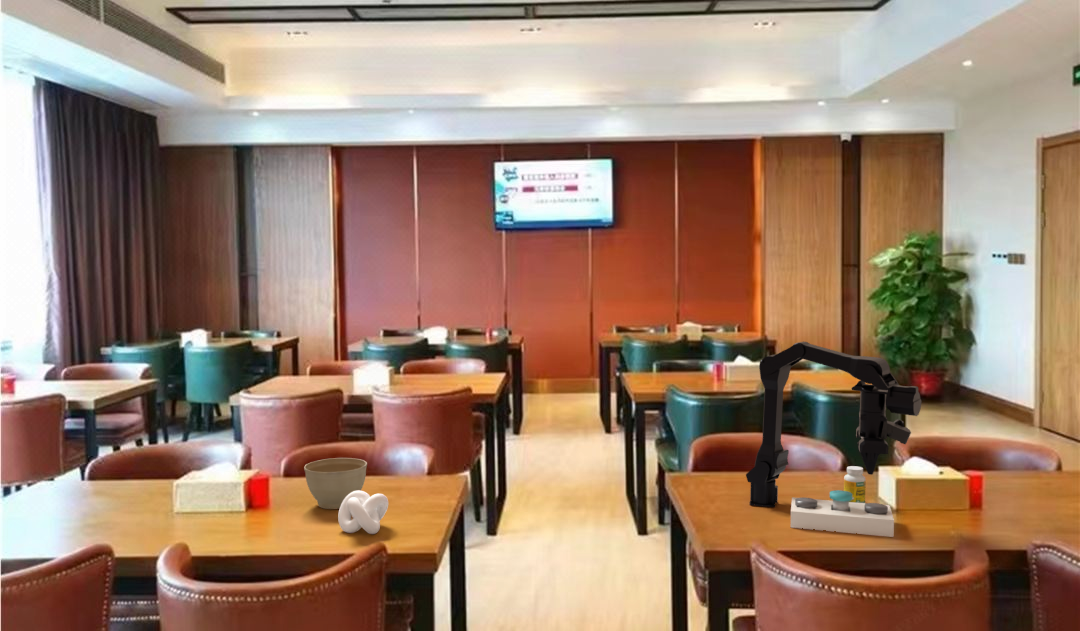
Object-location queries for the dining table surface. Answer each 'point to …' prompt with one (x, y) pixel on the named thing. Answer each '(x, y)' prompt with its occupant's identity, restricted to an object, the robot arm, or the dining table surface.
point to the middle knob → (840, 500)
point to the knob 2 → (876, 508)
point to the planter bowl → (334, 479)
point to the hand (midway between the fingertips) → (870, 474)
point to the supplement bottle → (855, 484)
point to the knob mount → (842, 519)
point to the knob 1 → (806, 503)
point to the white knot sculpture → (362, 512)
